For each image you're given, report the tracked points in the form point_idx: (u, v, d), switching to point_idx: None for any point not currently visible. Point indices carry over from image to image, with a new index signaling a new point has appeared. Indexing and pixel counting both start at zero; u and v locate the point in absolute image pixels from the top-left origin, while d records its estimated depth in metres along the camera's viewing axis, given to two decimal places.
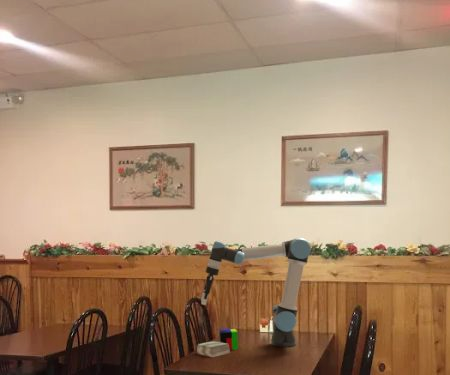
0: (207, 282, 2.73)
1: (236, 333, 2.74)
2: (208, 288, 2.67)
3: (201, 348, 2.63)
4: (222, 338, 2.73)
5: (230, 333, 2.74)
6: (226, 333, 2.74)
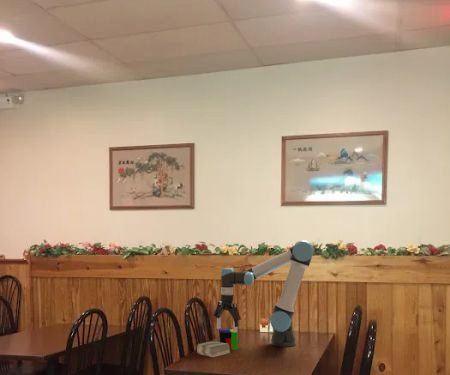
0: (230, 310, 2.77)
1: (236, 333, 2.74)
2: (238, 315, 2.74)
3: (201, 348, 2.63)
4: (222, 338, 2.73)
5: (230, 333, 2.74)
6: (226, 333, 2.74)
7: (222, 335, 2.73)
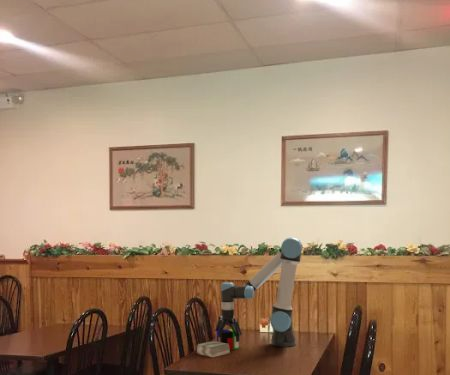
0: (231, 325, 2.76)
1: None
2: (239, 330, 2.73)
3: (201, 348, 2.63)
4: (223, 338, 2.73)
5: (231, 333, 2.74)
6: (227, 333, 2.74)
7: (224, 335, 2.73)
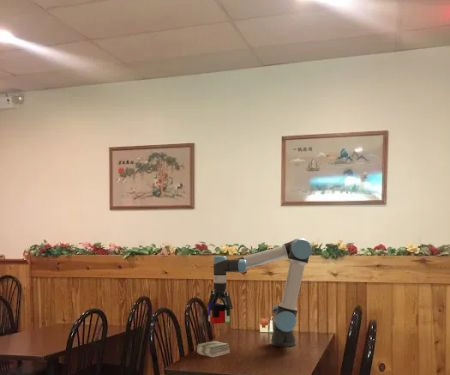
0: (223, 298, 2.72)
1: None
2: (230, 304, 2.69)
3: (201, 348, 2.63)
4: (215, 311, 2.69)
5: (223, 306, 2.71)
6: (219, 306, 2.70)
7: (216, 308, 2.69)
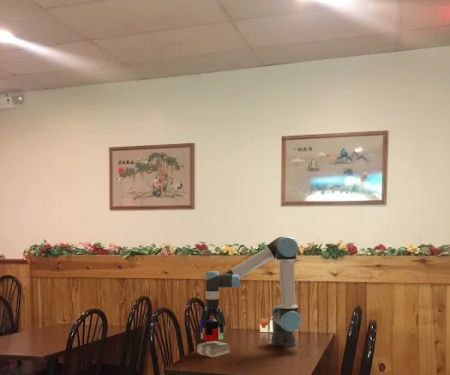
0: (215, 315, 2.64)
1: None
2: (223, 321, 2.61)
3: (201, 348, 2.63)
4: (208, 329, 2.61)
5: (216, 323, 2.63)
6: (212, 323, 2.62)
7: (209, 325, 2.61)
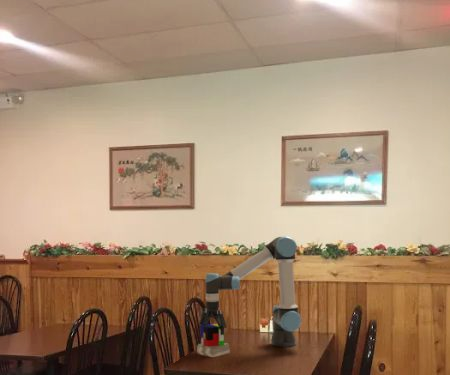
0: (216, 317, 2.64)
1: None
2: (224, 323, 2.61)
3: (201, 348, 2.63)
4: (209, 334, 2.60)
5: (217, 328, 2.63)
6: (213, 328, 2.62)
7: (209, 330, 2.61)
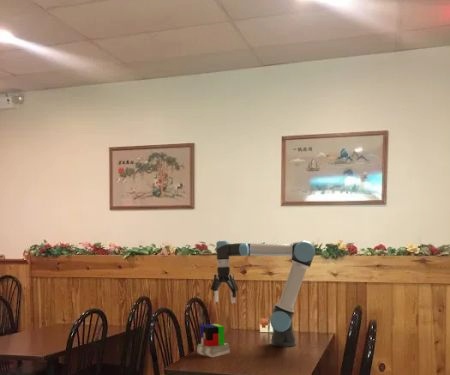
0: (227, 281, 2.79)
1: (222, 328, 2.64)
2: (235, 286, 2.76)
3: (201, 348, 2.63)
4: (209, 334, 2.60)
5: (217, 328, 2.63)
6: (213, 328, 2.62)
7: (209, 330, 2.61)
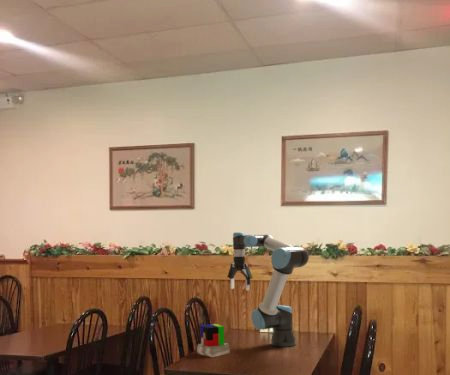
0: (242, 270, 3.01)
1: (223, 328, 2.64)
2: (250, 274, 2.98)
3: (201, 348, 2.63)
4: (209, 334, 2.60)
5: (217, 328, 2.63)
6: (213, 328, 2.62)
7: (209, 330, 2.61)
